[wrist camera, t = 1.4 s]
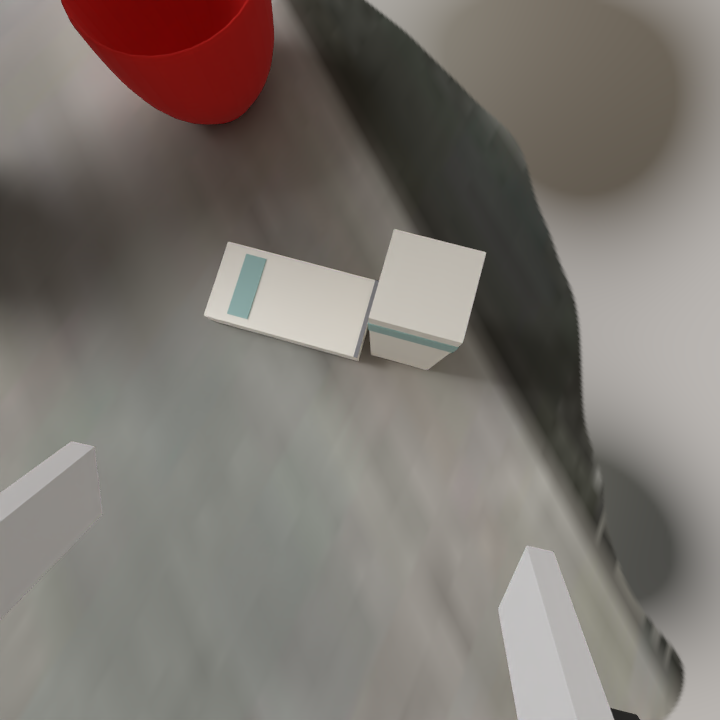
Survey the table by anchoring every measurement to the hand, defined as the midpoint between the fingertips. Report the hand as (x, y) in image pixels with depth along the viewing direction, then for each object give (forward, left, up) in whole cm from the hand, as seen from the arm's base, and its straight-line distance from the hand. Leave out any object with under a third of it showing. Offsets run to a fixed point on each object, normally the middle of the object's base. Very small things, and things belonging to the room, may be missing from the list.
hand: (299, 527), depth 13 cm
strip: (-12, +2, -19) cm, 23 cm away
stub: (-6, +9, -19) cm, 22 cm away
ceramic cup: (-34, +7, -19) cm, 39 cm away
